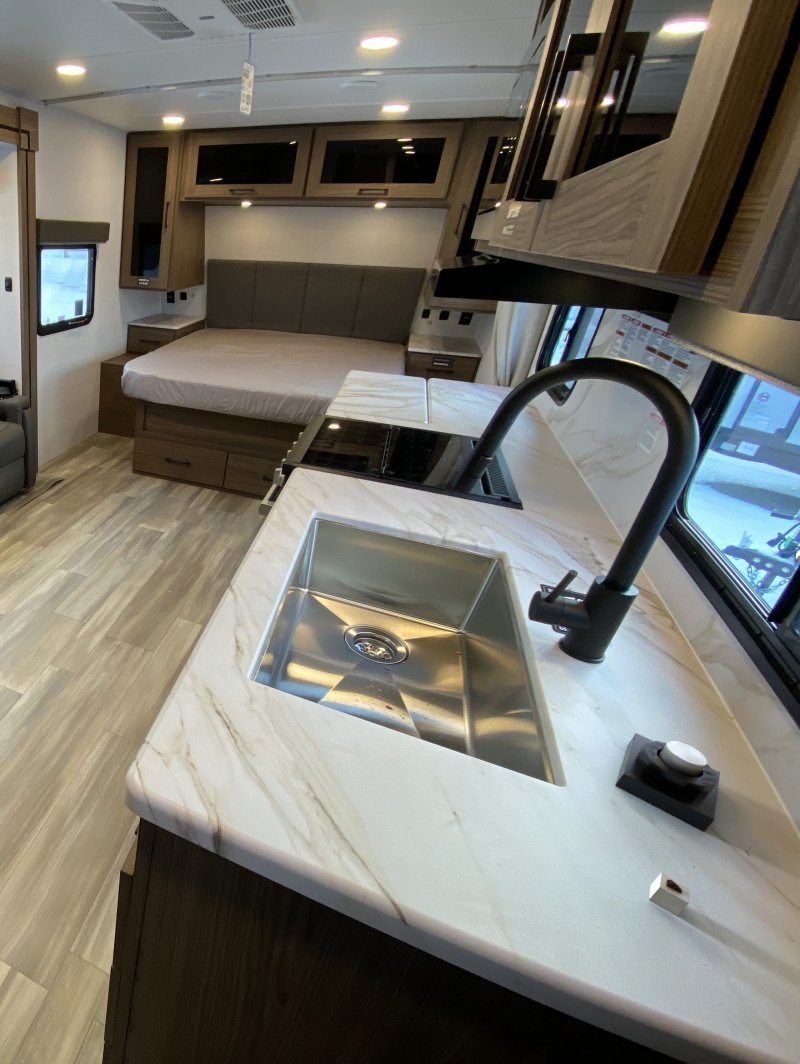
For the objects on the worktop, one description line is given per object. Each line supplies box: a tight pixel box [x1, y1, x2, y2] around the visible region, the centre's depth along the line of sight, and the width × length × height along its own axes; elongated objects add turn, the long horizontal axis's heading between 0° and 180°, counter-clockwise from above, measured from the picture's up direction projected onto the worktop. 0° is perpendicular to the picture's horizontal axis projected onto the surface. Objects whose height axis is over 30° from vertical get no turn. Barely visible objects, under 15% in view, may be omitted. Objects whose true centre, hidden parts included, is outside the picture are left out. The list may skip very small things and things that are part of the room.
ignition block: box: [614, 732, 721, 833], centre depth 70 cm, size 10×8×4 cm
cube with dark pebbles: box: [648, 872, 691, 917], centre depth 58 cm, size 2×2×2 cm
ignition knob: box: [659, 740, 709, 777], centre depth 69 cm, size 4×4×2 cm
